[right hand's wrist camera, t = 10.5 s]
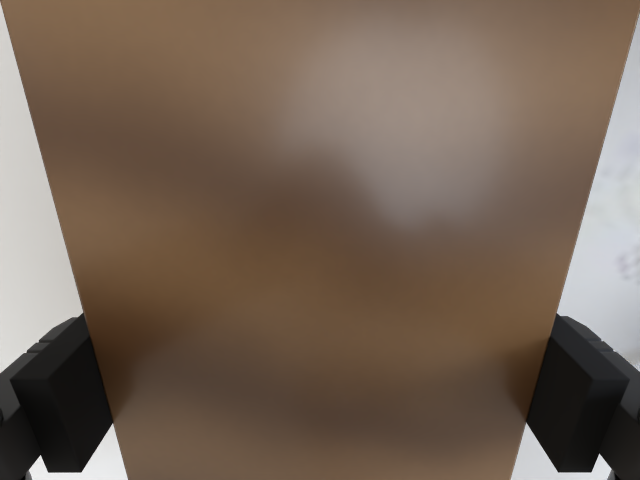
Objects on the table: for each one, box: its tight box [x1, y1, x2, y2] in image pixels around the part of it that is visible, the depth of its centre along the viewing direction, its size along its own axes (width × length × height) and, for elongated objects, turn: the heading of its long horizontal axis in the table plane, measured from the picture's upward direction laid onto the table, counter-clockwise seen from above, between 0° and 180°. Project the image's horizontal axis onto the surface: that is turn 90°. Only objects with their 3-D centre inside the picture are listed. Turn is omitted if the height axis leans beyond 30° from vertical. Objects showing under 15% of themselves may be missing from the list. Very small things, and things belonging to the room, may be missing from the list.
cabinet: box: [0, 0, 640, 480], centre depth 11 cm, size 20×11×10 cm, turn 0°
